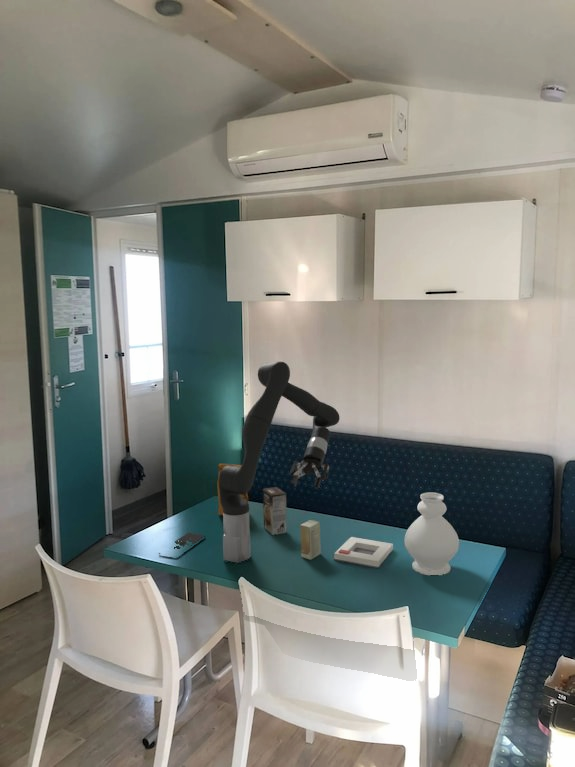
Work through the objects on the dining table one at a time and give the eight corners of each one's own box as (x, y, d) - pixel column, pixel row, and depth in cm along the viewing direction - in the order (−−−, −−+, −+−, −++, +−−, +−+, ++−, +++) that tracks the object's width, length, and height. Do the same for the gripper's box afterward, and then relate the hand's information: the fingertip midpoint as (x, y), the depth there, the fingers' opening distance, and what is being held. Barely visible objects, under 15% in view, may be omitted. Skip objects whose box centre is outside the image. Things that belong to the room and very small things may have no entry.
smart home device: (157, 552, 230) (187, 532, 248) (157, 556, 231) (187, 536, 249) (177, 555, 227) (206, 535, 245) (177, 560, 227) (206, 539, 245)
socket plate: (378, 568, 216) (378, 559, 215) (334, 560, 223) (334, 551, 222) (392, 550, 230) (392, 542, 229) (351, 543, 237) (351, 535, 236)
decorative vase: (394, 561, 221) (394, 491, 217) (438, 552, 227) (439, 484, 223) (423, 583, 204) (423, 508, 200) (469, 573, 210) (471, 500, 206)
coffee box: (263, 527, 254) (261, 488, 252) (277, 524, 257) (276, 486, 254) (272, 535, 246) (271, 495, 244) (287, 532, 249) (286, 492, 246)
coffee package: (241, 520, 262) (239, 468, 259) (215, 517, 267) (213, 466, 264) (252, 512, 271) (250, 462, 268) (226, 509, 276) (224, 459, 273)
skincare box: (311, 551, 231) (310, 518, 229) (321, 554, 228) (320, 521, 226) (300, 557, 226) (299, 524, 224) (310, 560, 223) (309, 527, 221)
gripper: (295, 444, 245) (283, 479, 235) (331, 446, 239) (320, 482, 229) (301, 456, 250) (289, 491, 240) (335, 458, 244) (325, 494, 234)
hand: (304, 487), depth 235 cm, fingers open, 8 cm apart
